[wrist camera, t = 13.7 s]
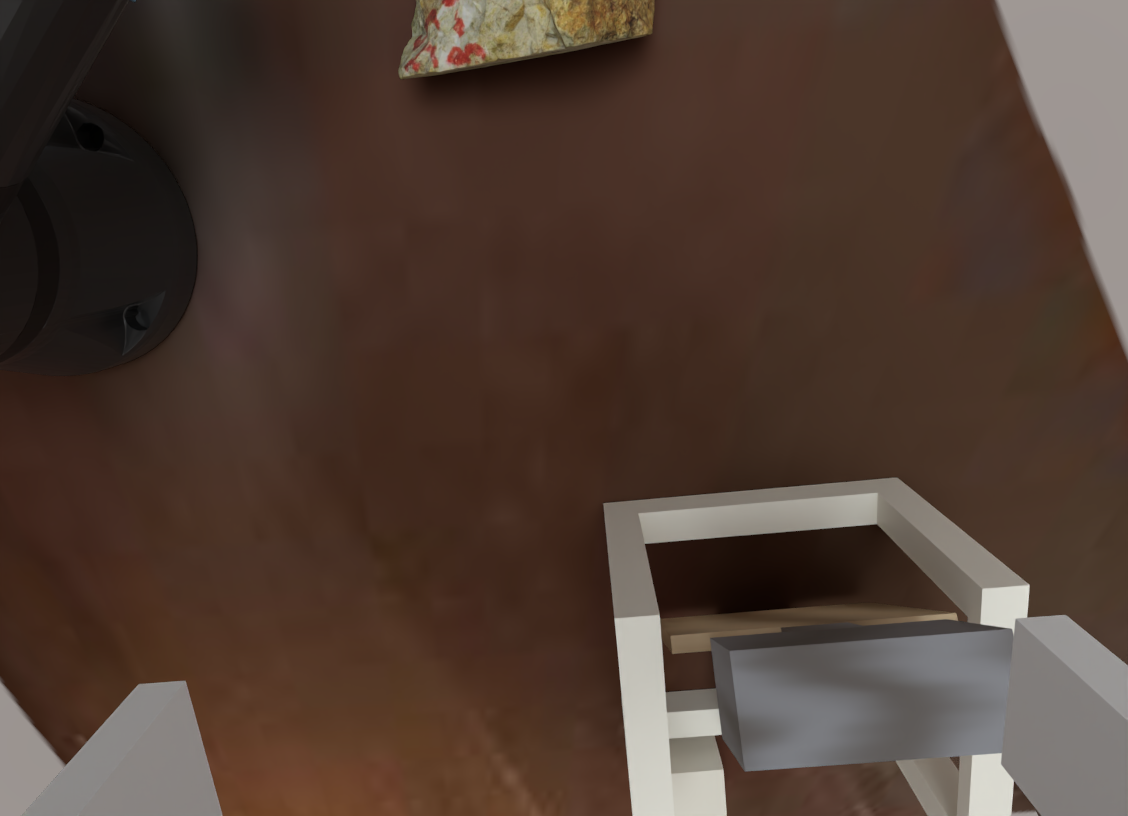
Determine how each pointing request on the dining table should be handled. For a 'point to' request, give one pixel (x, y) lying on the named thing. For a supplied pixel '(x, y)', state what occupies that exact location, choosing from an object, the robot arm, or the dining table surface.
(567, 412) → the dining table surface
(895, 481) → the frame
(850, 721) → the trapdoor
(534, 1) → the rock
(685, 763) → the pumice block
